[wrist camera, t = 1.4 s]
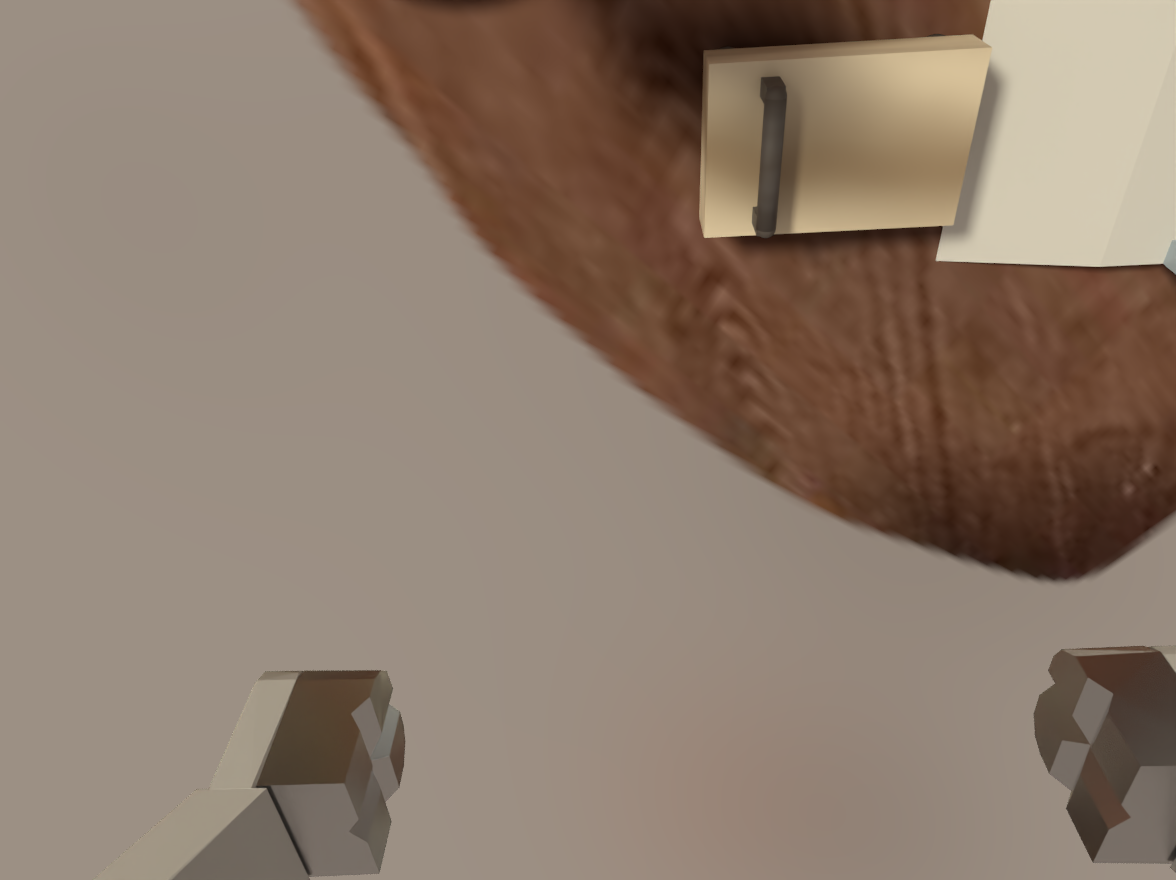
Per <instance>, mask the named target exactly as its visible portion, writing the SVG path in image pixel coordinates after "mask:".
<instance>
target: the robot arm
mask: <svg viewBox="0 0 1176 880" xmlns="http://www.w3.org/2000/svg"><path fill="white" fill-rule="evenodd" d="M1048 671H1049V673H1050V675H1051V677H1052V678H1053V680H1054V682H1055V684H1054V685H1053V686H1051V687H1050V688H1048V689H1047V690H1046V691H1044V692H1043V693H1042V694H1040V695H1039V698H1038V701H1037V705H1036V708H1035V711H1034V726H1035V738H1036V741H1037V745H1038V748H1039V752H1040V755H1041V757H1042V759H1043V761H1044V763H1045V765H1046V768H1047V770H1048V772H1049V774H1050V775H1052V776H1053V777H1054V778H1055V779H1057V780H1058V781H1060V782H1061V783H1062V784H1063V785H1065V786H1066V787H1067V788H1068V789H1070V790H1071V793H1070V797H1069V800H1068V804H1067V807H1066V809H1067V811H1068V813H1069V815H1070V817H1071V819H1072V821H1073V823H1074V825H1075V827H1076V830H1077V832H1078V834H1079V836H1080V837H1081V840H1082V841H1083V844H1084V846H1085V848H1086V850H1087V852H1088V854H1089V856H1090V858H1091V860H1092V862H1093V863H1160V864H1172V865H1171V867H1170V868H1171V869H1172V870H1173V871H1175V872H1176V646H1151V647H1145V646H1131V647H1106V648H1082V649H1062V650H1060V651H1059V652H1058V653H1057V654H1056V655H1054V656H1053V659H1052V662H1051V664H1050V667H1049V670H1048ZM392 690H393V687H392V684H391V682H390V679H389V676H388V673H387V671H381V670H379V671H378V670H377V671H376V670H375V671H374V670H371V671H370V670H367V671H366V670H362V671H361V670H358V671H356V670H355V671H267V672H265V673H264V674H263V675H262V676H261V677H260V678H259V679H258V680H257V681H256V682H255V684H254V686H253V689H252V691H251V693H250V696H249V698H248V700H247V702H246V705H245V707H244V709H243V711H242V714H241V716H240V718H239V721H238V723H237V725H236V728H235V730H234V732H233V734H232V737H231V739H230V741H229V743H228V746H227V748H226V750H225V753H224V755H223V757H222V760H221V762H220V764H219V766H218V769H217V771H216V773H215V775H214V778H213V780H212V782H211V785H210V787H209V789H196V790H195V791H194V792H193V793H192V794H191V795H190V796H188V797H187V798H186V799H185V800H184V801H183V802H182V803H180V804H179V805H178V806H177V807H176V808H175V809H174V810H172V811H171V812H170V813H169V814H168V815H167V816H165V817H164V818H163V819H162V820H161V821H160V822H159V823H157V824H156V825H155V826H154V827H153V828H152V829H150V830H149V831H148V832H147V833H146V834H145V835H144V836H142V837H141V838H140V839H139V840H138V841H137V842H136V843H134V844H133V845H132V846H131V847H130V848H129V849H127V851H125V852H124V853H123V854H122V855H121V856H119V857H118V858H117V859H116V860H115V861H114V862H113V863H111V864H110V865H109V866H108V867H107V868H106V869H104V870H103V871H102V872H101V873H100V874H99V875H98V876H96V877H95V878H94V879H93V880H310V878H309V877H314V876H337V875H360V874H379V872H380V868H381V864H382V859H383V856H384V851H385V847H386V843H387V838H388V834H389V830H390V825H391V818H390V815H389V812H388V809H387V806H386V803H385V802H386V801H387V800H388V799H389V798H390V797H391V796H392V794H393V793H394V792H395V791H396V790H397V789H398V788H399V786H400V782H401V777H402V772H403V767H404V754H405V734H404V725H403V721H402V717H401V714H400V712H399V711H398V710H396V709H395V708H394V707H393V706H391V705H390V704H389V702H390V698H391V694H392Z"/></svg>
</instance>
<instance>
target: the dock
mask: <svg viewBox="0 0 1176 880" xmlns="http://www.w3.org/2000/svg"><path fill="white" fill-rule="evenodd" d="M982 41H983V42H985V43H986V44H988V45H989V46H991V47H992V52H991V56H990V61H989V65H988V70H987V74H986V79H985V83H984V88H983V92H982V97H981V102H980V106H979V111H978V115H977V120H976V124H975V129H974V133H973V138H972V142H971V147H970V152H969V156H968V161H967V165H966V170H965V174H964V179H963V183H962V188H961V193H960V197H959V202H958V206H957V211H956V215H955V220H954V224H953V225H948V226H943V228H942V233H941V238H940V242H939V247H938V252H937V256H936V261H953V262H980V263H1008V264H1036V265H1063V266H1091V267H1105V266H1125V265H1146V264H1164V265H1165V266H1166V267H1167V268H1169V269H1170V270H1171V271H1172V272H1173V273H1175V274H1176V0H991V2H990V6H989V11H988V16H987V21H986V25H985V30H984V35H983V39H982Z"/></svg>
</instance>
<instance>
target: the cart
mask: <svg viewBox="0 0 1176 880" xmlns="http://www.w3.org/2000/svg"><path fill="white" fill-rule="evenodd" d="M991 52H992V47H991V46H989V45H988V44H986V43H985V42H983V41H982V40H980V39H979V38H977V37H976V36H974V35H955V36H945V35H942V34H933V35H930V36H927V37H921V38H905V39H888V40H871V41H854V42H837V43H820V44H804V45H787V46H770V47H753V48H734V47H722V48H719V49H718V50H704V54H703V94H702V134H701V174H700V214H699V218H700V223H701V227H702V231H703V235H704V238H711V237H731V236H750V235H756V236H760V237H762V238H769V237H771V236H774V234H790V233H810V232H830V231H849V230H869V229H889V228H909V227H929V226H948V225H953V224H954V220H955V215H956V211H957V206H958V202H959V197H960V193H961V188H962V183H963V179H964V174H965V170H966V165H967V161H968V156H969V152H970V147H971V142H972V138H973V133H974V129H975V124H976V120H977V115H978V111H979V106H980V102H981V97H982V92H983V88H984V83H985V79H986V74H987V70H988V65H989V61H990V56H991Z"/></svg>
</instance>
